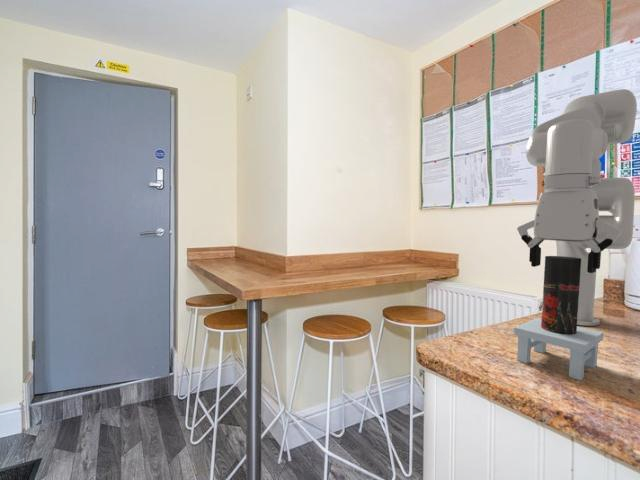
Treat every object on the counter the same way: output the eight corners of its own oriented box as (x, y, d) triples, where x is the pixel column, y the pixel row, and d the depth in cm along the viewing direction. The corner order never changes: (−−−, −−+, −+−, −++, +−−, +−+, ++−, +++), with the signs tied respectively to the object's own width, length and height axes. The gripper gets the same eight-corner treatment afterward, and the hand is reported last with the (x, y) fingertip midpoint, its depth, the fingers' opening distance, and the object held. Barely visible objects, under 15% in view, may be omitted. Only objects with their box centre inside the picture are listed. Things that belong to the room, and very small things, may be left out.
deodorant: (582, 335, 65) (588, 259, 64) (549, 333, 66) (553, 258, 65) (566, 326, 70) (571, 256, 69) (536, 324, 72) (540, 255, 71)
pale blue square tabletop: (534, 347, 77) (536, 318, 76) (601, 365, 67) (603, 332, 67) (512, 360, 69) (514, 327, 69) (583, 382, 60) (586, 345, 60)
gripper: (629, 182, 62) (622, 272, 63) (527, 188, 75) (523, 262, 77) (619, 180, 57) (612, 277, 59) (512, 186, 71) (509, 265, 72)
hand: (562, 268), depth 68 cm, fingers open, 9 cm apart
